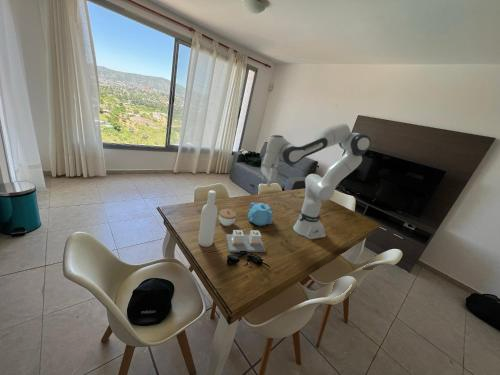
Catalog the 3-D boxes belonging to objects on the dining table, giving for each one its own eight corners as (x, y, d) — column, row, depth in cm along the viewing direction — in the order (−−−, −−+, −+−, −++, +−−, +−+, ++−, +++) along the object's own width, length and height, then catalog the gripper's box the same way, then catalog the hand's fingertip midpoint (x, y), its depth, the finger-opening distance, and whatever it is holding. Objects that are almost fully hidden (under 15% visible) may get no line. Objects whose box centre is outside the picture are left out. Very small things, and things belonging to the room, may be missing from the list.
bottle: (194, 242, 108) (200, 191, 97) (203, 235, 115) (210, 187, 104) (207, 249, 106) (214, 196, 95) (215, 241, 112) (223, 192, 102)
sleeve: (257, 238, 120) (259, 230, 118) (259, 245, 115) (262, 236, 113) (247, 238, 118) (249, 229, 116) (250, 245, 113) (252, 236, 111)
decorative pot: (271, 230, 134) (276, 212, 129) (246, 225, 133) (251, 207, 128) (268, 217, 150) (273, 200, 145) (247, 213, 148) (250, 196, 143)
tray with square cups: (258, 236, 125) (260, 225, 122) (265, 251, 112) (268, 240, 110) (225, 235, 119) (227, 224, 116) (229, 252, 107) (231, 240, 104)
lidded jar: (214, 223, 129) (216, 210, 125) (224, 217, 138) (226, 204, 134) (228, 230, 125) (230, 217, 121) (237, 223, 134) (240, 211, 130)
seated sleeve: (240, 238, 117) (242, 229, 115) (242, 245, 112) (244, 236, 110) (230, 238, 116) (232, 229, 113) (232, 245, 110) (234, 236, 108)
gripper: (281, 168, 115) (276, 190, 120) (270, 158, 133) (265, 178, 138) (271, 166, 113) (266, 189, 118) (261, 157, 131) (256, 177, 136)
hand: (265, 183), depth 128 cm, fingers open, 8 cm apart
